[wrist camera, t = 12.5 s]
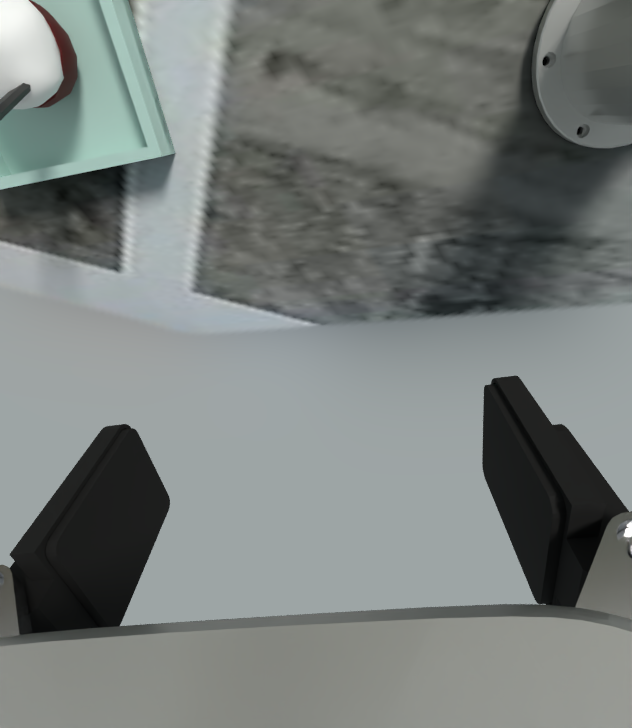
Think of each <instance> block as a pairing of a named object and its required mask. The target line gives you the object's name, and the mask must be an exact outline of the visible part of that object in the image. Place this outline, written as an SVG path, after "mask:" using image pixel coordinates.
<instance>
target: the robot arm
mask: <svg viewBox="0 0 632 728" xmlns="http://www.w3.org/2000/svg"><path fill="white" fill-rule="evenodd" d="M544 57H546V58H547V63H546V64H545V66H543V63H542V61H543V58H544ZM531 72H532V86H533V92H534V96H535V99H536V103H537V106H538V108H539V110H540V112H541V114H542V116H543V118H544V120H545V121H546V122H547V124H548V125H549V126H550V127H551V128H552V129H553V131H554V132H555V133H557V134H558V135H560V136H561V137H563V138H564V139H565V140H567V141H570V142H572V143H575V144H578V145H580V146H586V147H592V148H615V147H620V146H626V145H630V144H632V0H550V2H549V4H548V6H547V8H546V11H545V13H544V16H543V18H542V20H541V23H540V25H539V29H538V33H537V36H536V40H535V44H534V48H533V58H532V68H531ZM579 127H580V132H579V133H578V134H577V130H578V128H579ZM483 417H484V418H483V472H484V476H485V479H486V482H487V484H488V487H489V489H490V491H491V494H492V496H493V499H494V501H495V503H496V506H497V508H498V511H499V513H500V516H501V518H502V520H503V523H504V525H505V528H506V530H507V533H508V535H509V538H510V540H511V542H512V545H513V547H514V550H515V552H516V555H517V557H518V560H519V562H520V564H521V567H522V569H523V572H524V574H525V576H526V579H527V581H528V584H529V586H530V589H531V591H532V594H533V596H534V598H535V600H536V602H537V603H538V604H546V605H525V604H520V605H519V604H513V605H512V604H502V605H501V604H500V605H475V606H449V607H426V608H425V607H424V608H407V609H390V610H372V611H354V612H336V613H319V614H303V615H287V616H270V617H254V618H238V619H222V620H206V621H193V622H192V621H190V622H176V623H161V624H147V625H133V626H120V624H121V622H122V619H123V617H124V615H125V612H126V610H127V607H128V605H129V603H130V600H131V598H132V595H133V593H134V591H135V588H136V586H137V584H138V581H139V579H140V576H141V574H142V572H143V570H144V567H145V564H146V562H147V560H148V557H149V555H150V553H151V550H152V548H153V546H154V543H155V541H156V539H157V536H158V534H159V531H160V529H161V527H162V524H163V522H164V519H165V517H166V515H167V512H168V510H169V505H170V499H169V496H168V494H167V491H166V489H165V487H164V485H163V483H162V481H161V479H160V477H159V475H158V473H157V471H156V469H155V467H154V465H153V463H152V461H151V459H150V457H149V455H148V453H147V451H146V449H145V447H144V445H143V442H142V440H141V438H140V437H139V434H138V433H137V431H136V430H135V429H131V427H130V426H129V425H126V424H122V425H114V426H107V427H105V428H103V429H102V430H101V431H100V433H99V434H98V435H97V437H96V438H95V440H94V441H93V442H92V444H91V445H90V447H89V448H88V449H87V450H86V452H85V453H84V454H83V456H82V457H81V459H80V460H79V461H78V463H77V464H76V465H75V467H74V468H73V469H72V471H71V472H70V473H69V475H68V476H67V477H66V479H65V480H64V482H63V483H62V484H61V486H60V487H59V488H58V490H57V491H56V493H55V494H54V495H53V496H52V498H51V500H50V501H49V502H48V503H47V505H46V506H45V507H44V509H43V510H42V511H41V513H40V514H39V516H38V517H37V518H36V519H35V521H34V522H33V523H32V525H31V526H30V528H29V529H28V530H27V532H26V533H25V534H24V536H23V537H22V539H21V540H20V541H19V542H18V544H17V545H16V547H15V548H14V549H13V551H12V552H11V553H10V556H11V557H12V558H13V559H14V561H15V562H14V563H13V565H12V566H11V567H10V568H8V567H7V566H4V565H0V728H632V511H631V512H629V511H628V510H627V508H626V507H625V506H624V505H623V503H622V502H621V500H620V499H619V498H618V496H617V495H616V493H615V492H614V491H613V490H612V488H611V487H610V485H609V484H608V483H607V481H606V480H605V479H604V477H603V476H602V474H601V473H600V472H599V470H598V469H597V468H596V466H595V465H594V464H593V462H592V461H591V460H590V458H589V457H588V455H587V454H586V453H585V451H584V450H583V449H582V447H581V446H580V445H579V443H578V442H577V441H576V439H575V438H574V436H573V435H572V434H571V432H570V431H569V430H568V429H567V428H566V427H565V426H564V425H562V424H558V425H552V424H551V422H550V421H549V420H548V418H547V417H546V415H545V414H544V413H543V411H542V410H541V408H540V407H539V405H538V404H537V402H536V401H535V400H534V398H533V397H532V395H531V394H530V392H529V391H528V390H527V388H526V387H525V385H524V384H523V382H522V381H521V379H520V378H519V377H518V376H510V377H501V378H494V379H493V380H492V382H491V385H485V387H484V416H483Z"/></svg>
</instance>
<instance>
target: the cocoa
mask: <svg viewBox="0 0 632 728" xmlns="http://www.w3.org/2000/svg"><path fill="white" fill-rule="evenodd" d="M77 78H78V72H77V55H76V53H75V50H74V48H73V45H72V43H71V40H70V38H69V35H68V34H67V33H66V32H65V30H64V29H63V28H62V27H61V26H60V24H59V23H58V22H57V21H56V20H55V18H54V17H53V16H52V15H51V14H50V13H49V12H48V11H47V10H46V9H44V8H43V7H42V6H41V5H39V4H37V3H35V2H33V1H32V0H0V121H1V120H2V119H3V118H4V117H5V116H6V115H7V114H8V113H9V112H10V111H11V110H12V109H22V110H24V109H29V108H45V107H50V106H52V105H54V104H55V103H57V102H58V101H60V100H61V99H63V98H65V97H66V96H68V95H69V94H70V93H71V91H72V89H73V87H74V85H75V82H76V80H77Z"/></svg>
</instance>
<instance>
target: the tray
mask: <svg viewBox="0 0 632 728" xmlns="http://www.w3.org/2000/svg"><path fill="white" fill-rule="evenodd" d="M32 1H33V2H35V3H37V4H39V5H41V6H42V7H43V8H44V9H46V10H47V11H48V12H49V13H50V14H51V15H52V16H53V17H54V18H55V20H56V21H57V22H58V23H59V24H60V26H61V27H62V28H63V29H64V30H65V32H66V33H67V34H68V35H69V38H70V40H71V43H72V45H73V48H74V50H75V53H76V55H77V72H78V78H77V80H76V82H75V85H74V87H73V89H72V91H71V93H70V94H69V95H68V96H66V97H65V98H63V99H61V100H60V101H58V102H57V103H55V104H54V105H52V106H50V107H45V108H29V109H24V110H22V109H12V110H11V111H10V112H9V113H8V114H7V115H6V116H5V117H4V118H3V119H2V120H1V121H0V189H5V188H10V187H15V186H20V185H25V184H30V183H35V182H40V181H45V180H50V179H54V178H59V177H64V176H69V175H74V174H79V173H84V172H89V171H94V170H99V169H104V168H109V167H113V166H118V165H123V164H128V163H133V162H138V161H143V160H148V159H153V158H158V157H163V156H167V155H171V154H175V150H174V147H173V144H172V141H171V137H170V134H169V131H168V128H167V124H166V121H165V118H164V115H163V111H162V108H161V105H160V102H159V98H158V95H157V92H156V89H155V85H154V82H153V79H152V76H151V72H150V69H149V66H148V63H147V59H146V56H145V53H144V50H143V46H142V43H141V40H140V37H139V33H138V30H137V27H136V24H135V20H134V17H133V14H132V11H131V7H130V4H129V1H128V0H32Z"/></svg>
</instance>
